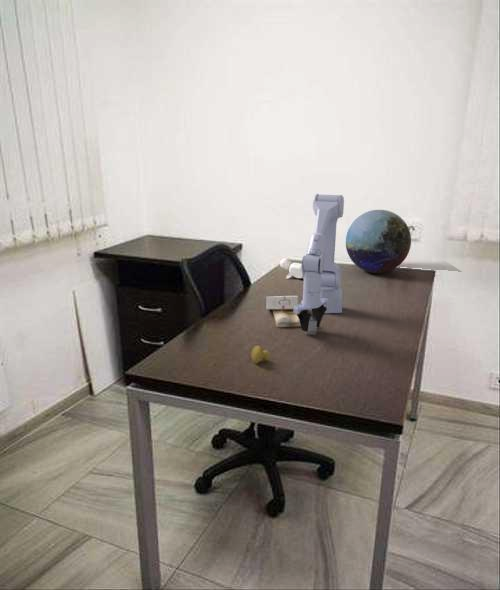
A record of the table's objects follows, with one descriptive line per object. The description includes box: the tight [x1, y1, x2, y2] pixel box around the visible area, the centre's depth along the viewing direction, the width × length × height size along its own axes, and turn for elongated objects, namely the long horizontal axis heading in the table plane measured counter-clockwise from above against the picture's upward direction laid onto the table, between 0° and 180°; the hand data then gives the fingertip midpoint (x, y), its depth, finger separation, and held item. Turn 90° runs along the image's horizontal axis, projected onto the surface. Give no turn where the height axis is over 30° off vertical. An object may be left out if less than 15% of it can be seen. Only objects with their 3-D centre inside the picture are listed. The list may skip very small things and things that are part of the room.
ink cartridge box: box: [265, 295, 299, 310], centre depth 174 cm, size 9×5×15 cm
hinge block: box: [304, 316, 318, 336], centre depth 156 cm, size 4×4×5 cm
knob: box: [251, 345, 269, 364], centre depth 136 cm, size 5×5×5 cm
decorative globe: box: [345, 209, 412, 274], centre depth 221 cm, size 30×30×30 cm
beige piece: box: [272, 309, 301, 328], centre depth 167 cm, size 12×14×5 cm
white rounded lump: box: [279, 257, 304, 280], centre depth 217 cm, size 9×8×15 cm
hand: (310, 328), depth 156 cm, fingers closed on hinge block, 5 cm apart
